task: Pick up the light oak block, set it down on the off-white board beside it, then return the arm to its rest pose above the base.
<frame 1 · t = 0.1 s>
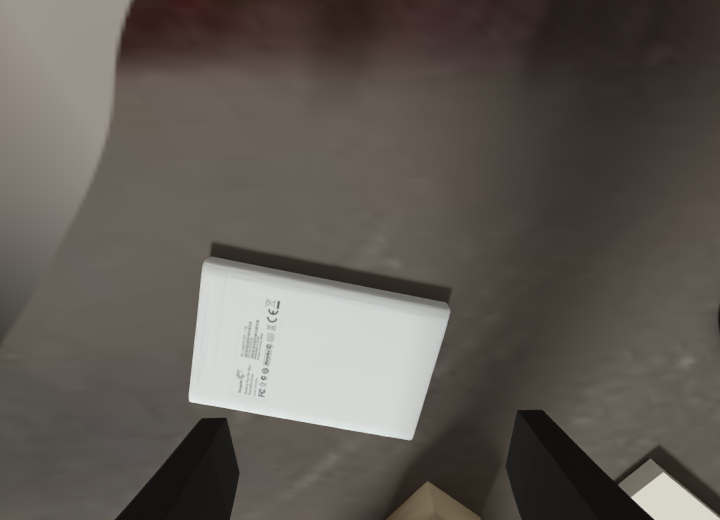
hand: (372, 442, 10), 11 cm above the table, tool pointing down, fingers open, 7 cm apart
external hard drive: (318, 342, 21), on the table
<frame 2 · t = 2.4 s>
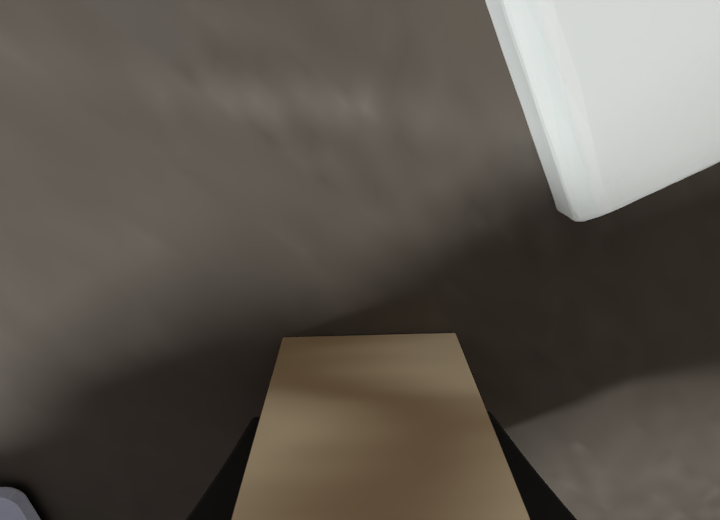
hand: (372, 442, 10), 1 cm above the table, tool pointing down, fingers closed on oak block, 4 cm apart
oak block: (370, 399, 11), on the table, touching gripper
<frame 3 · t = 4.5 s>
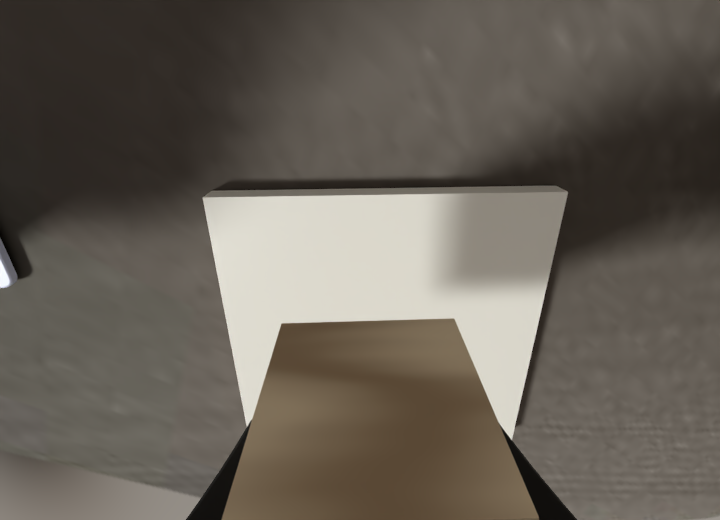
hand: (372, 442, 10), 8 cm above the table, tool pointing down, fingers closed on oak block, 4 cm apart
oak block: (369, 386, 11), point 7 cm above the table, touching gripper
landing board: (381, 330, 18), on the table
when the fingers open (3 cm above the table, at t = 6.6 s): oak block stays where it is, resting on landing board.
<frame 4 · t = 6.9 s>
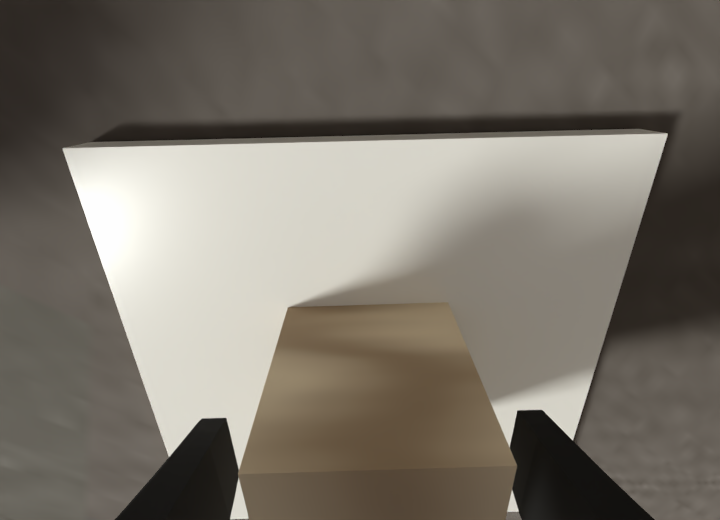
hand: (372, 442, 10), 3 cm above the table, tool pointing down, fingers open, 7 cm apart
oak block: (369, 367, 12), point 1 cm above the table, touching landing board
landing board: (368, 354, 13), on the table
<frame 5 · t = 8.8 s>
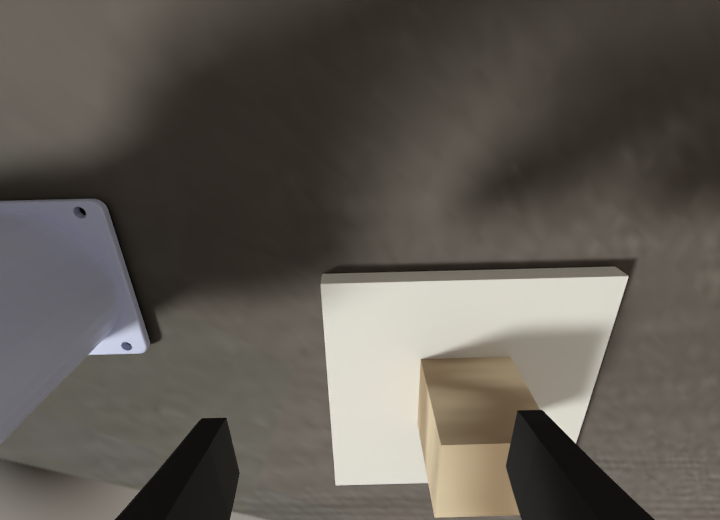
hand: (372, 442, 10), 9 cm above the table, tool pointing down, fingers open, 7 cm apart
oak block: (461, 391, 20), point 1 cm above the table, touching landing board
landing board: (456, 382, 21), on the table
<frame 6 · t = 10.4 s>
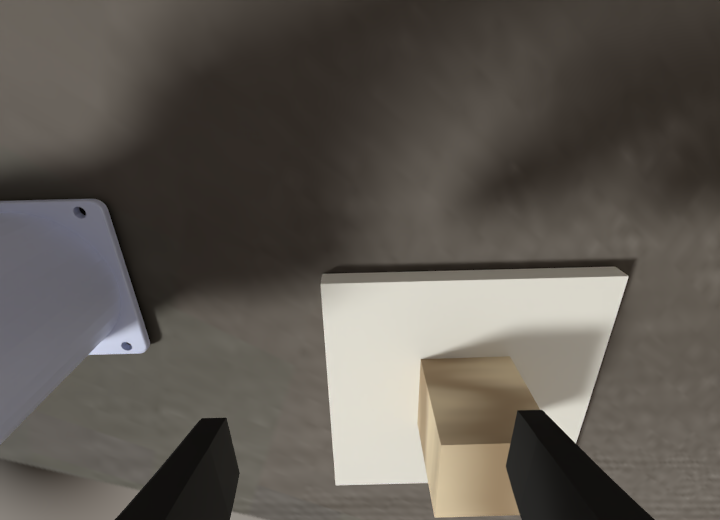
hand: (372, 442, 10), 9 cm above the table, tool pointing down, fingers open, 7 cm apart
oak block: (461, 391, 20), point 1 cm above the table, touching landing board
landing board: (456, 382, 21), on the table
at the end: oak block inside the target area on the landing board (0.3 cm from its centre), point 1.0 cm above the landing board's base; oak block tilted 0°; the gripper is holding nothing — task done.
